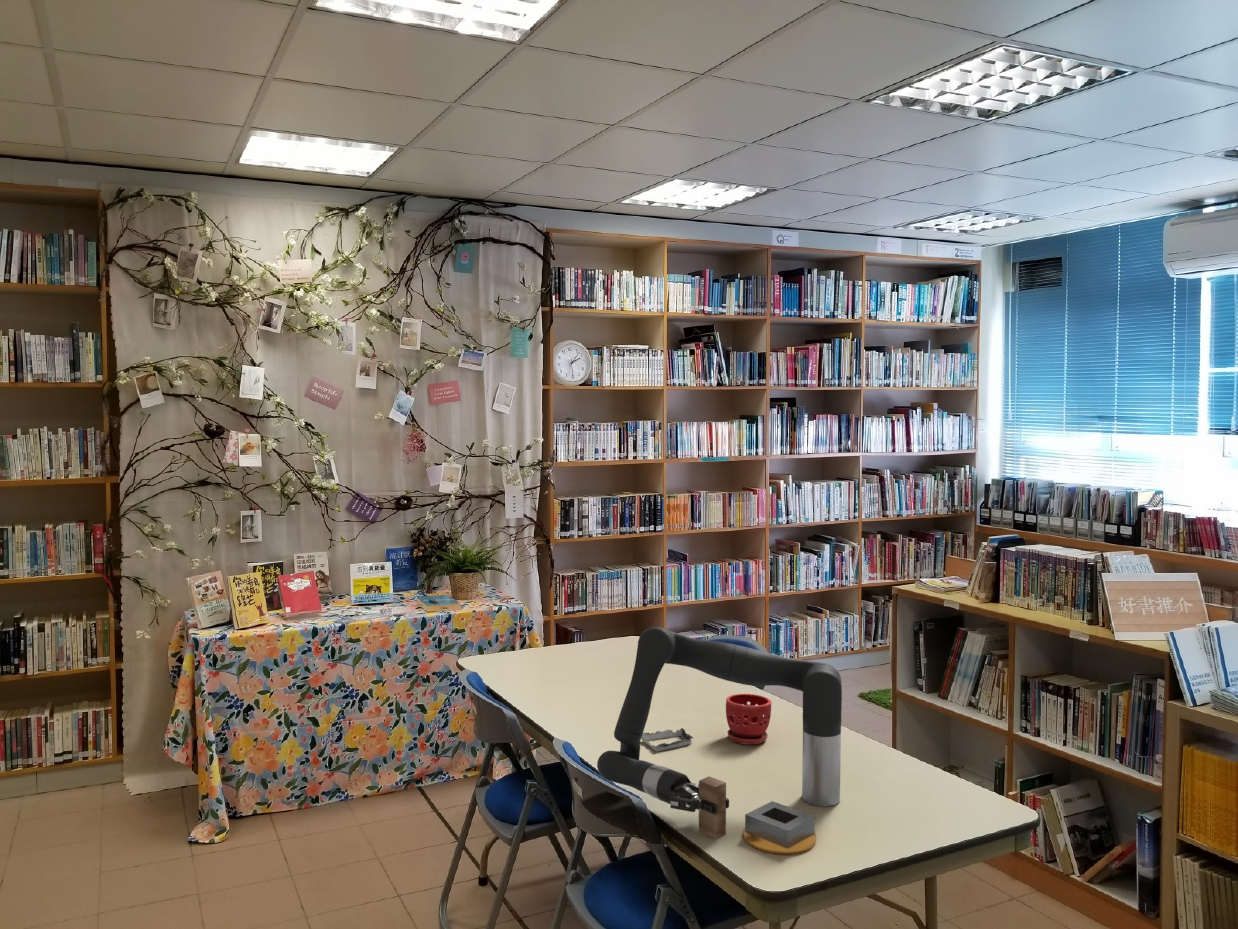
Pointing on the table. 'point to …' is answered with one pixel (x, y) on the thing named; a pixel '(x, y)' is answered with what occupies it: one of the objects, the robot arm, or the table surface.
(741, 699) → the plant pot
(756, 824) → the grey socket block
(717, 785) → the brown wooden block
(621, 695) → the table surface
